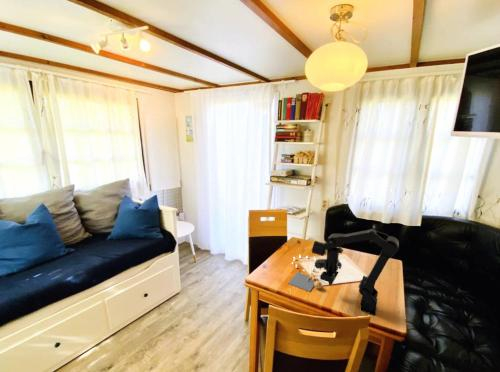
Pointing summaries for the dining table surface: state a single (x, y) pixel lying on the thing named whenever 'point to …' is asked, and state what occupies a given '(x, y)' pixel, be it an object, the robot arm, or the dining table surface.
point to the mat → (302, 281)
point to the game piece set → (306, 257)
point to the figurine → (317, 283)
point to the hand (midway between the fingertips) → (330, 285)
